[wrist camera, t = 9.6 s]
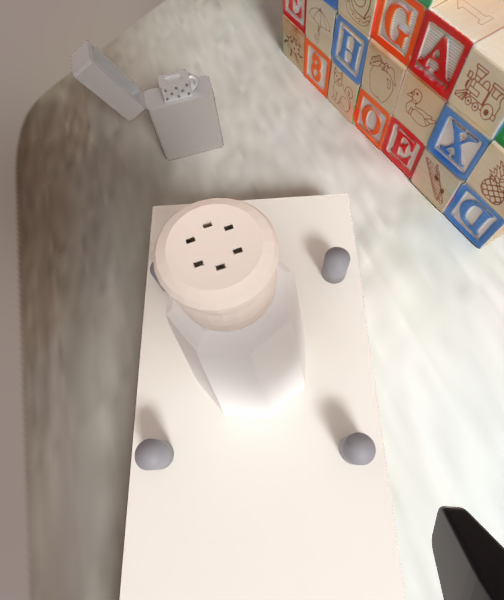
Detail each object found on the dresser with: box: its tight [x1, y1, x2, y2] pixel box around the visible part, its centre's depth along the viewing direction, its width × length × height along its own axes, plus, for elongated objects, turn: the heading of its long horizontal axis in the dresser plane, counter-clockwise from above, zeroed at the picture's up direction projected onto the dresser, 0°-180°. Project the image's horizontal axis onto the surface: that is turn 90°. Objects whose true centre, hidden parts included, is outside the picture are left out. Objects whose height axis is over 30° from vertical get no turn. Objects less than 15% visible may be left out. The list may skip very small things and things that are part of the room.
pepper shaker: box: [153, 198, 306, 418], centre depth 14 cm, size 5×5×11 cm
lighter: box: [70, 40, 224, 160], centre depth 24 cm, size 7×2×8 cm, turn 104°
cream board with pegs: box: [120, 193, 405, 600], centre depth 19 cm, size 22×11×5 cm, turn 1°
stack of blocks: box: [282, 0, 504, 249], centre depth 22 cm, size 21×6×12 cm, turn 31°
